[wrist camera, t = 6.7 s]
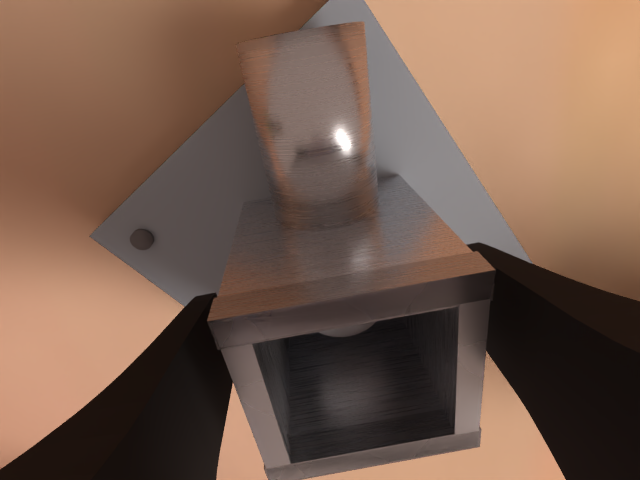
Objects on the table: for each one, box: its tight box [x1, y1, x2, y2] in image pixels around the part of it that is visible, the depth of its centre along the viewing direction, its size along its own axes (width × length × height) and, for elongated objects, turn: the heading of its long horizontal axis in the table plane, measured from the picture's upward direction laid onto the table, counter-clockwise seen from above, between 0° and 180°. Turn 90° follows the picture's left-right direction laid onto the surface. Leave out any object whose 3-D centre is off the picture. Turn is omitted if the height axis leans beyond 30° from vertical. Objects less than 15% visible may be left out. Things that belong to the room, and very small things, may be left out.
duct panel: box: [90, 0, 533, 337], centre depth 12 cm, size 11×12×4 cm
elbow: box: [207, 21, 496, 480], centre depth 9 cm, size 10×5×6 cm, turn 9°
